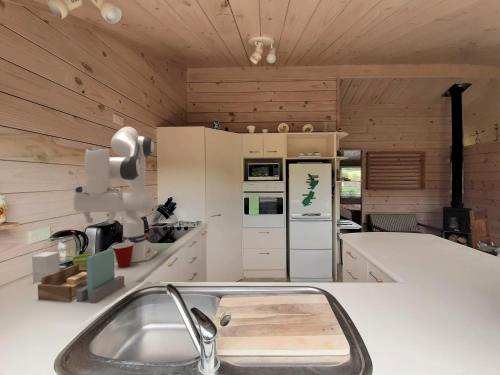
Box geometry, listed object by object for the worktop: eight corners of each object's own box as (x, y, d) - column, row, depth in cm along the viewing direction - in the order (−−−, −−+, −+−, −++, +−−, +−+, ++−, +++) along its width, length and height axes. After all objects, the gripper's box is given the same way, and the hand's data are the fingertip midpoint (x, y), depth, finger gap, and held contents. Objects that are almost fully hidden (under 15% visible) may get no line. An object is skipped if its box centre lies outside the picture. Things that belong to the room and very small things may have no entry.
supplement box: (61, 278, 123) (60, 251, 123) (47, 284, 116) (46, 256, 116) (46, 277, 124) (45, 251, 124) (32, 283, 117) (31, 256, 116)
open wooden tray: (78, 284, 116) (77, 263, 115) (105, 286, 113) (105, 264, 113) (38, 303, 98) (37, 278, 98) (69, 306, 95) (68, 280, 95)
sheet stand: (108, 287, 112) (107, 274, 111) (124, 288, 110) (124, 276, 110) (76, 305, 96) (76, 290, 96) (95, 307, 94) (94, 292, 94)
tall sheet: (110, 286, 109) (109, 248, 108) (114, 286, 109) (113, 249, 108) (87, 299, 97) (86, 257, 97) (92, 300, 97) (91, 257, 96)
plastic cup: (113, 264, 142) (112, 243, 142) (134, 261, 146) (134, 240, 146) (111, 270, 132) (111, 247, 132) (134, 267, 137) (134, 245, 136)
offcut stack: (85, 284, 111) (84, 270, 111) (95, 285, 110) (94, 271, 110) (59, 297, 100) (59, 281, 99) (70, 298, 99) (70, 282, 98)
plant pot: (98, 271, 132) (98, 254, 132) (85, 278, 123) (84, 260, 122) (81, 270, 133) (81, 253, 133) (66, 277, 124) (66, 259, 123)
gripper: (127, 187, 102) (128, 222, 103) (83, 187, 106) (84, 221, 107) (116, 188, 96) (117, 225, 97) (69, 188, 100) (71, 224, 101)
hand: (100, 223), depth 102 cm, fingers open, 8 cm apart
